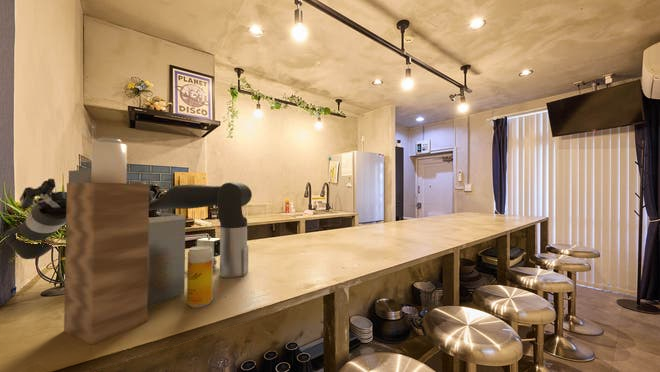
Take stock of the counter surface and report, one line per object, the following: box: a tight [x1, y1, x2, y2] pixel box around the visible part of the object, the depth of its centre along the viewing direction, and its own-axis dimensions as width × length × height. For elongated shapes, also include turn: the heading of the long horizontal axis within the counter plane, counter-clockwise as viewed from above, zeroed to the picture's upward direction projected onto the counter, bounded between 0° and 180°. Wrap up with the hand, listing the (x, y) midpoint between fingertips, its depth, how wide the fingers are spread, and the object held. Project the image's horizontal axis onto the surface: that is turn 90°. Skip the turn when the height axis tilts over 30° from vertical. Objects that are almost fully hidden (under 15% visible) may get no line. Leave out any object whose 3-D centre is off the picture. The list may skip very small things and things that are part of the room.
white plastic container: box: [68, 137, 128, 183], centre depth 60 cm, size 18×6×10 cm, turn 65°
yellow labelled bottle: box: [186, 246, 214, 309], centre depth 68 cm, size 6×6×15 cm
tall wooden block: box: [63, 182, 150, 346], centre depth 57 cm, size 12×10×32 cm
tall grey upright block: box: [147, 213, 186, 309], centre depth 72 cm, size 10×10×23 cm
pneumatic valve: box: [192, 235, 220, 267], centre depth 101 cm, size 6×12×12 cm, turn 78°
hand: (77, 182), depth 62 cm, fingers open, 8 cm apart
